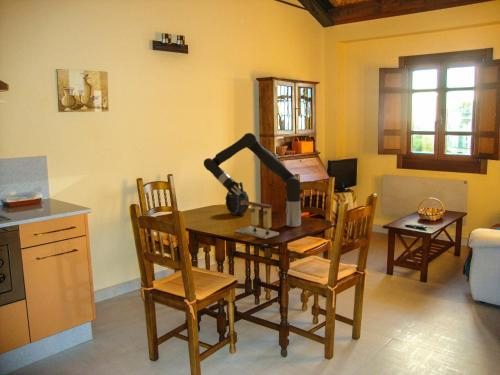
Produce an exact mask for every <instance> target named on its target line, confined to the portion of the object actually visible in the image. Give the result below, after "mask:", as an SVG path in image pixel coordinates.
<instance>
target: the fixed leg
mask: <svg viewBox="0 0 500 375" xmlns="http://www.w3.org/2000/svg"><path fill="white" fill-rule="evenodd" d="M262 215H263V217H262V218H263V222H262V223H263V228H264V229H265V230H266V233H269V230H270V228H272V208H270V209H268V208H263V209H262Z"/></svg>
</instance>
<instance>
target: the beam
mask: <svg viewBox="0 0 500 375" xmlns="http://www.w3.org/2000/svg"><path fill="white" fill-rule="evenodd" d="M243 204H244V205H249V206H250V207H251V206H256V207H259V208H268V209H270V208H271V209H272V205H271V204H266V203H261V202H255V201H253V202H252V201H249V202H248V201H245V200H243V201H241V205H243Z"/></svg>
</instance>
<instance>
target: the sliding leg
mask: <svg viewBox="0 0 500 375" xmlns="http://www.w3.org/2000/svg"><path fill="white" fill-rule="evenodd" d="M259 208H260V207H256V206H250V209H249V210H250V211H249V212H250V224H251V225H250V226H253V227H254V231H256V228H257V226H258V225H260V215H259V214H260V212H259V211H260V210H259Z"/></svg>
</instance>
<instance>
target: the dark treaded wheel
mask: <svg viewBox="0 0 500 375" xmlns="http://www.w3.org/2000/svg"><path fill="white" fill-rule="evenodd" d="M239 190H240V191H241V187H239ZM237 192H238V191H237ZM238 193H239V192H238ZM231 194H232V195H237V194H236V193H231ZM239 194H240V193H239ZM242 194H244V195H245V198H244V197H243V196H242V195H241V196H242V197H243V198H244V199H241V198H240V197H239V196H238V197H229V196H228V195H229V192H227V193H226V196H225V206H226V209H227V211H228V212H229V213H230V214H231V215H234V216H235V215H236V216H239V215H240V216H241V215H242V214H243V215H244V214H245V213H246V212H247V211H248V210H249V206H250V205H244V204H243V205H241V201H243V200H245V201H248V202H250V198H249V195H248V194H247V191H246V190H244V189H243V192H242Z"/></svg>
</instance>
